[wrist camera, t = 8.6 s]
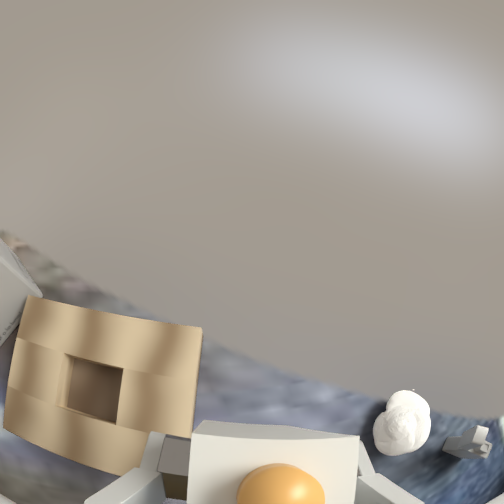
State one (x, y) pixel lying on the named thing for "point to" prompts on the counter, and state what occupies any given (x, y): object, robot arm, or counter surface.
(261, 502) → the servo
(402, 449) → the dumpling
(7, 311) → the cereal box
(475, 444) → the lighter
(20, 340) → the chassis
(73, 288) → the counter surface
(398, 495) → the robot arm
